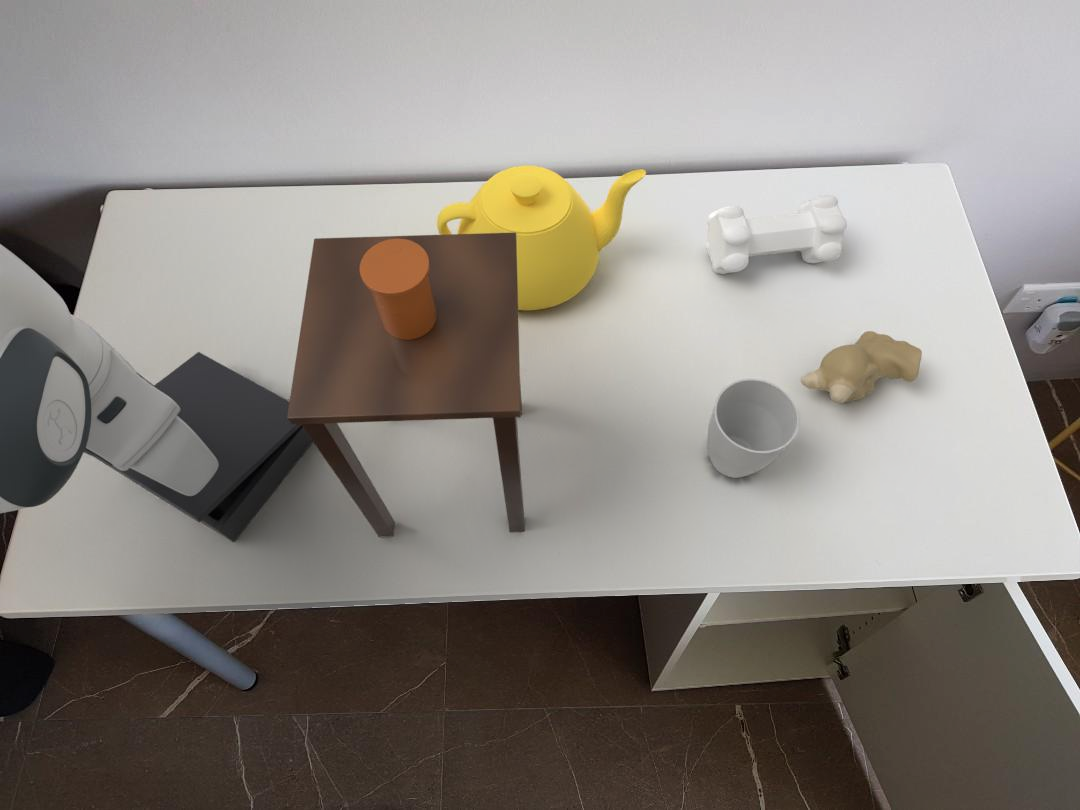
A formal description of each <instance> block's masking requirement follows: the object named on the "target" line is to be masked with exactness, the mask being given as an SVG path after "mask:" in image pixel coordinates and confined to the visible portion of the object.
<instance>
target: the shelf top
mask: <svg viewBox="0 0 1080 810" xmlns="http://www.w3.org/2000/svg"><path fill="white" fill-rule="evenodd" d="M390 239H406V240H410V241H412V242H415V243H417V244H418V245H420V246H421V247H422V248H423V249H424V250H425V252H426V253H427V256H428V258H429V263H430V269H429V274H428V278H429V283H430V287H431V291H432V295H433V300H434V304H435V308H436V313H437V317H436V322H435V324H434V326H433V327H432V329H431V330H430V331H429V332H428V333H427V334H425V335H424V336H422V337H419V338H416V339H412V340H403V339H398V338H395V337H393V336H392V335H390V334H389V333H388V332H387V331H386V330H385V328H384V326H383V323H382V320H381V317H380V315H379V312H378V309H377V306H376V303H375V301H374V298H373V295H372V292H371V290H370V289H368V288H367V287H366V285H365V284H364V282H363V280H362V278H361V275H360V263H361V260H362V258H363V256H364V255H365V253H366V252H367V251H368V250H369V249H370V248H371V247H373V246H374V245H376V244H378V243H380V242H382V241H386V240H390ZM304 297H305V298H304V303H303V309H302V317H301V323H300V329H299V337H298V342H297V343H298V344H297V349H296V357H295V362H294V369H293V376H292V382H291V388H290V389H291V390H290V396H289V408H288V415H287V419H288V420H289V422H290V423H291V424H322V423H337V424H346V423H347V424H348V423H349V424H351V423H380V422H404V421H405V422H409V421H411V422H412V421H437V420H438V421H439V420H469V419H471V420H472V419H493V418H503V417H517V418H520V417H521V416H522V415H521V405H520V384H521V371H520V369H521V368H520V367H521V366H520V325H519V322H520V321H519V310H518V278H517V238H516V233H515V232H512V233H479V234H458V233H451V234H446V235H440V234H419V235H418V234H417V235H416V234H415V235H385V236H383V235H382V236H356V237H355V236H352V237H349V236H348V237H320V238H319V237H318V238H316V237H315V238H314V239H313V245H312V252H311V258H310V264H309V269H308V277H307V283H306V290H305V296H304Z"/></svg>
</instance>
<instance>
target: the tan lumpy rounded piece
mask: <svg viewBox="0 0 1080 810" xmlns="http://www.w3.org/2000/svg"><path fill="white" fill-rule="evenodd" d="M922 353H923V352H922V349H921V348H919V347H917V346H915V345H912V344H911V343H909V342H907V341H905V340H896V339H894V338H892V337H891V336H890V335H888V334H881V333H877V332H875V331H874V330H873V331H872V330H867V331H864V332H863V333H862V334H861V336H860V337H859V339H857V341H855V343H853V344H845V345H841V346H838V347H836V348H833V349H831V350H830V351H829V352H827V353H826V354H825V355H824V356H823V358H822V360H821V362H820V366H819V367H818V369H816V370H814V371H809V372H808V373H807V374H805V375H803V376H801V377H800V383H801V384H802V385H803V386H804V387H806V388H807V389H809V390H816V391H817V390H819V391H820V390H822V391H825V392H828V393H829V396H830V399H831V400H832V401H834V402H835V403H843V404H847V403H849V402H852V401H854V400H855V401H858V400H861V399H862V398H864V397H865V396H867V395H869V394H871V393H873V392H874V391H875V383H876V382H877V380H878V379H880V378H885V379H888V380H898V379H902V380H904V382H905V383H911V382H914V381H915V380H916V379H917V378H918V375H919V372H920V366H921V361H922V356H923V354H922Z"/></svg>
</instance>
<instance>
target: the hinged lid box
mask: <svg viewBox="0 0 1080 810" xmlns="http://www.w3.org/2000/svg"><path fill="white" fill-rule="evenodd" d="M312 444H314V442H313V441H312V439H311V438H310V436H309V435H308V433H307V432H306V431H305V429H304V428H303V426H302V425H301V426H300V427H299V428H298V429H297V430H296V431H295V432H294V433H293V434H292V435H291V436H290V437H289V438H288V439H287V440H286V441H285V442H284V443H282V444H281V445H280V446H279V447H278V448H277V449H276V450H275V451H274V452H273V453H272V454H271V455H270V456H269V457H268V458H267V459H266V460H265V461H264V462H263V463H262V464H260V465H259V466H258V467H257V468H256V469H255V470H254V471H253V472H252V473H251V474H250V475H249V476H248V477H247V478H246V479H245V480H244V481H243V482H242V483H241V484H240V485H238V486H237V487H236V488H235V489H234V490H233V491H232V492H231V493H230V494H229V495H228V496H227V497H226V498H225V499H224V500H223V501H222V502H221V503H220V504H219V505H218V506H216V507H215V508H214V509H213V510H212V511H211V512H210V513H209V514H208V515H207V516H206V517H205V518H204V519H203V520H202V521H201V522H200V524H201V523H202V524H203V525H205V526H206V527H208V528H209V529H211V530H213V531H214V532H216V533H218V534H220V535H221V536H222V537H224V538H225V539H227V540H229V541H231V542H232V543H235V542H236V541H237V539H238V538H239V537H240V536H241V534H242V533H243V532H244V531H245V529H246V528H247V527H248V525H249V524H250V523H251V521H253V519H254V518H255V517H256V515H257V514H258V513H259V512H260V510H261V509H262V508H263V507H264V506H265V504H266V502H267V501H268V500H269V499H270V498H271V496H272V495H273V494H274V492H275V491H276V490H277V489H278V487H279V486H280V485H281V483H283V482H284V480H285V478H286V477H287V476H288V475H289V474H290V472H291V471H292V470H293V468H294V467H295V466H296V464H298V462H299V460H300V459H301V458H302V457H303V455H305V453H306V451H308V449H309V448H310V447H311V445H312Z"/></svg>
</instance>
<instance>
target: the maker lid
mask: <svg viewBox="0 0 1080 810" xmlns="http://www.w3.org/2000/svg"><path fill="white" fill-rule="evenodd" d="M153 385H154V386H156V387H157V388H159V389H160V390H161V391H163V392H164V393H165V394H166V395H167V396H169V397H170V398H171V399H173V400H174V401H175V402H176V403H177V404H178V406H179V407H180V412H179V413H178V415H177V416H178V417H179V418H180V419H182V420H183V421H184V422H185V423H186V424H187V425H188V426H189V427H190V428H191V429H192V430H193V431H194V432H195V433H196V434H197V435H198V437H199V438H200V439H201V440H202V441H203V442H204V444H205V445H206V446H207V447H208V448H209V450H210V451H211V452H212V453H213V454H214V456H215V457H216V459H217V460H218V463H219V466H218V469H217V471H216V473H215V474H214V475H213V477H212V478H211V479H210V481H209V482H208V483H207V484H206V485H205V486H204V488H203V489H202V490H201V491H200V492H198V493H197V494H196V495H194V496H186V495H184V494H181V493H179V492H177V491H175V490H173V489H171V488H169V487H167V486H165V485H163V484H161V483H159V482H157V481H155V480H153V479H151V478H149V477H147V476H145V475H143V474H141V473H139V472H137V471H135V470H133V469H131V468H129V469H128V470H126V471H122V470H120V469H118V468H116V467H115V466H113V465H112V466H110V465H109V464H107V463H105V462H103V461H101V460H99V459H97V458H95V459H96V460H98V461H99V462H101V463H103V464H104V465H106V466H108V467H109V468H111V469H112V470H114V471H115V472H117V473H119V474H120V475H122V476H124V477H125V478H127V479H128V480H130V481H132V482H133V483H135V484H136V485H138V486H139V487H141V488H142V489H144V490H146V491H148V492H149V493H151V494H152V495H154V496H155V497H157V498H159V499H160V500H162V501H164V502H165V503H166V504H168V505H170V506H171V507H173V508H175V509H176V510H178V511H179V512H181V513H183V514H184V515H186V516H188V517H189V518H191V519H193V520H194V521H196V522H197V523H200V524H201V521H202V520H203V519H204V518H205V517H206V516H207V515H208V514H209V513H210V512H211V511H212V510H213V509H214V508H215V507H216V506H218V505H219V504H220V503H221V502H222V501H223V500H224V499H225V498H226V497H227V496H228V495H229V494H230V493H231V492H232V491H233V490H234V489H235V488H236V487H237V486H238V485H240V484H241V483H242V482H243V481H244V480H245V479H246V478H247V477H248V476H249V475H250V474H251V473H252V472H253V471H254V470H255V469H256V468H257V467H258V466H259V465H260V464H262V463H263V462H264V461H265V460H266V459H267V458H268V457H269V456H270V455H271V454H272V453H273V452H274V451H275V450H276V449H277V448H278V447H279V446H280V445H281V444H282V443H284V442H285V441H286V440H287V439H288V438H289V437H290V436H291V435H292V434H293V433H294V432H295V431H296V430H297V429H298V428H299V427H300V426H301V424H291V423H290V422H289V420H288V419H287V415H288V408H289V402H290V400H288V399H285V398H284V397H283V396H280V395H279V394H276V393H275V392H273V391H271V390H270V389H268V388H266V387H264V386H261V384H259V383H256V382H254V381H253V380H251V379H249V378H247V377H245V376H243V375H242V374H240V373H238V372H236V371H234V370H232V369H231V368H229V367H227V366H225V365H223V364H222V363H220V362H218V361H216V360H214V359H213V358H211V357H209V356H207V355H206V354H204V353H202V352H200V351H198V352H196V353H195V354H194V355H192V356H190V357H189V358H188V359H187V360H186V361H184V362H183V363H182V364H180V365H178V367H177V368H175V369H174V370H173V371H171V372H170V373H169V374H168V375H166V376H165V377H163V378H162V379H161V380H160V381H158V382H157V383H156V384H153Z"/></svg>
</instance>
